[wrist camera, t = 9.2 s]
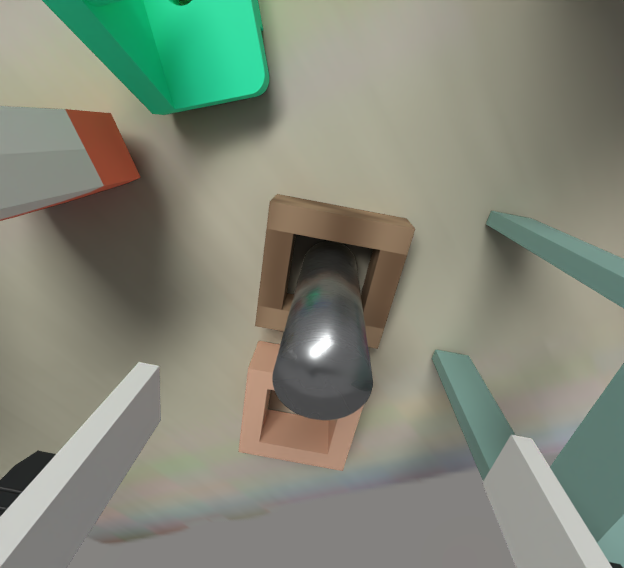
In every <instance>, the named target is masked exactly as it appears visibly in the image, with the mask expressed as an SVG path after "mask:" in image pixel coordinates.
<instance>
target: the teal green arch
mask: <svg viewBox="0 0 624 568" xmlns="http://www.w3.org/2000/svg"><path fill="white" fill-rule="evenodd" d="M486 224H487V225H488V226H490V227H492V228H493V229H495V230H496V231H498V232H500V233H501V234H503V235H505V236H506V237H508V238H510V239H511V240H513V241H514V242H516V243H518V244H519V245H521V246H523V247H524V248H526V249H528V250H529V251H531V252H532V253H534V254H536V255H537V256H539V257H541V258H542V259H544V260H546V261H547V262H549V263H550V264H552V265H554V266H555V267H557V268H559V269H560V270H562V271H563V272H565V273H567V274H568V275H570V276H572V277H573V278H575V279H577V280H578V281H580V282H581V283H583V284H585V285H586V286H588V287H590V288H591V289H593V290H595V291H596V292H598V293H599V294H601V295H603V296H604V297H606V298H608V299H609V300H611V301H612V302H614V303H616V304H617V305H619V306H621V307H622V308H624V259H623V258H620V257H618V256H616V255H614V254H611V253H609V252H607V251H604V250H602V249H600V248H598V247H595V246H593V245H591V244H589V243H586V242H584V241H582V240H579V239H577V238H575V237H573V236H570V235H568V234H566V233H563V232H561V231H559V230H557V229H554V228H552V227H550V226H548V225H545V224H543V223H541V222H538V221H536V220H534V219H532V218H526V217H521V216H516V215H511V214H505V213H500V212H495V211H491V213H490V215H489V218H488V220H487V223H486ZM432 360H433V362H434V365H435V367H436V370H437V372H438V374H439V377H440V379H441V381H442V384H443V386H444V389H445V391H446V393H447V396H448V398H449V401H450V403H451V405H452V408H453V410H454V413H455V415H456V417H457V420H458V422H459V425H460V427H461V429H462V432H463V434H464V436H465V439H466V441H467V444H468V446H469V448H470V451H471V453H472V456H473V458H474V460H475V463H476V465H477V468H478V470H479V472H480V475H481V477H482V479H483V481H484V479H485V478H486V476H487V474H488V473H489V471H490V469H491V468H492V466H493V464H494V463H495V461H496V459H497V458H498V456H499V454H500V453H501V451H502V449H503V448H504V446H505V444H506V442H507V441H508V439H509V437H510V436H511V435H515V434H514V432H513V430H512V428H511V427H510V425H509V423H508V422H507V420H506V418H505V417H504V415H503V413H502V412H501V410H500V408H499V406H498V405H497V403H496V401H495V400H494V398H493V396H492V395H491V393H490V391H489V389H488V388H487V386H486V384H485V383H484V381H483V379H482V378H481V376H480V374H479V372H478V371H477V369H476V367H475V366H474V364H473V362H472V361H471V359H470V357H469V356H468V355H462V354H457V353H451V352H446V351H441V350H435V352H434V355H433V357H432ZM550 468H551V470H552V472H553V473H554V475H555V476H556V478H557V480H558V481H559V483H560V485H561V486H562V488H563V489H564V491H565V493H566V494H567V496H568V497H569V499H570V501H571V502H572V504H573V505H574V507H575V509H576V510H577V512H578V513H579V515H580V517H581V518H582V520H583V521H584V523H585V525H586V526H587V528H588V529H589V531H590V533H591V534H592V536H593V537H594V539H595V541H596V542H597V544H598V545H599V547H600V549H601V550H602V552H603V553H604V555H605V557H606V558H607V560H608V562H612V563H617V564H620V565H621V566H622V567H623V568H624V363H623V365H622V366H621V368H620V369H619V370H618V372H617V373H616V375H615V376H614V377H613V379H612V380H611V382H610V383H609V384H608V386H607V387H606V389H605V390H604V392H603V393H602V394H601V396H600V397H599V399H598V400H597V401H596V403H595V404H594V406H593V407H592V408H591V410H590V411H589V413H588V414H587V415H586V417H585V418H584V420H583V421H582V423H581V424H580V425H579V427H578V428H577V430H576V431H575V432H574V434H573V435H572V437H571V438H570V439H569V441H568V442H567V444H566V445H565V447H564V448H563V449H562V451H561V452H560V454H559V455H558V456H557V458H556V459H555V461H554V462H553V464H552V465H551V466H550Z"/></svg>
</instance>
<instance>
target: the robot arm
mask: <svg viewBox="0 0 624 568" xmlns="http://www.w3.org/2000/svg"><path fill="white" fill-rule="evenodd" d="M160 421H161V411H160V373H159V366H157V365H152V364H147V363H141V362H138V364H137V365H136V366H135V367H134V368H133V369H132V370H131V371H130V372H129V374H128V375H127V376H126V377H125V378H124V379H123V380H122V381H121V383H120V384H119V385H118V386H117V387H116V388H115V389H114V390H113V391H112V393H111V394H110V395H109V396H108V397H107V398H106V399H105V400H104V402H103V403H102V404H101V405H100V406H99V407H98V408H97V409H96V410H95V412H94V413H93V414H92V415H91V416H90V417H89V418H88V419H87V420H86V422H85V423H84V424H83V425H82V426H81V427H80V428H79V429H78V431H77V432H76V433H75V434H74V435H73V436H72V437H71V438H70V439H69V441H68V442H67V443H66V444H65V445H64V446H63V447H62V448H61V450H60V451H59V452H58V453H57V454H52V453H47V452H42V451H37V452H35V453H34V454H32V455H30V456H29V457H27V458H26V459H24V460H23V461H21V462H20V463H18V464H17V465H15V466H14V467H13V468H12V469H11V470H10V471H9V472H8V473H7V474H6V475H5V476H4V477H3V478H2V479H1V480H0V568H67V567H68V565H69V564H70V562H71V560H72V559H73V557H74V555H75V554H76V552H77V551H78V549H79V548H80V546H81V545H82V543H83V542H84V540H85V538H86V537H87V535H88V534H89V532H90V531H91V529H92V527H93V526H94V524H95V523H96V521H97V520H98V518H99V516H100V515H101V513H102V512H103V510H104V509H105V507H106V505H107V504H108V502H109V501H110V499H111V498H112V496H113V494H114V493H115V491H116V490H117V488H118V487H119V485H120V483H121V482H122V480H123V479H124V477H125V476H126V474H127V472H128V471H129V469H130V468H131V466H132V465H133V463H134V461H135V460H136V458H137V457H138V455H139V454H140V452H141V450H142V449H143V447H144V446H145V444H146V443H147V441H148V439H149V438H150V436H151V435H152V433H153V432H154V430H155V428H156V427H157V425H158V424H159V422H160ZM483 486H484V489H485V491H486V494H487V496H488V498H489V501H490V503H491V506H492V508H493V511H494V513H495V516H496V518H497V521H498V524H499V526H500V528H501V531H502V534H503V536H504V539H505V541H506V544H507V546H508V548H509V551H510V553H511V556H512V558H513V561H514V563H515V566H516V568H623V567H622V566H621V565H620V564H617V563H612V562H608V560H607V558H606V557H605V555H604V553H603V552H602V550H601V549H600V547H599V545H598V544H597V542H596V541H595V539H594V537H593V536H592V534H591V533H590V531H589V529H588V528H587V526H586V525H585V523H584V521H583V520H582V518H581V517H580V515H579V513H578V512H577V510H576V509H575V507H574V505H573V504H572V502H571V501H570V499H569V497H568V496H567V494H566V493H565V491H564V489H563V488H562V486H561V485H560V483H559V481H558V480H557V478H556V476H555V475H554V473H553V472H552V470H551V468H550V467H549V465H548V464H547V462H546V460H545V459H544V457H543V456H542V454H541V452H540V451H539V449H538V448H537V446H536V444H535V443H534V441H533V440H532V439H531V438H526V437H521V436H516V435H511V436H510V437H509V439H508V441H507V442H506V444H505V446H504V448H503V449H502V451H501V453H500V454H499V456H498V458H497V459H496V461H495V463H494V464H493V466H492V468H491V469H490V471H489V473H488V474H487V476H486V478H485V479H484V481H483Z"/></svg>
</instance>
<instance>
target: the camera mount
mask: <svg viewBox="0 0 624 568" xmlns="http://www.w3.org/2000/svg"><path fill="white" fill-rule="evenodd" d="M42 1H43V2H44V3H45V4H46V5H47V6H48V7H49V8H50V9H51V10H52V11H53V12H54V13H55V14H56V15H57V16H58V17H59V18H60V19H61V20H62V21H63V22H64V23H65V24H66V25H67V26H68V27H69V29H70V30H71V31H72V32H73V33H74V34H75V35H76V36H77V37H78V38H79V39H80V40H81V41H82V42H83V43H84V44H85V45H86V46H87V47H88V48H89V49H90V50H91V51H92V52H93V53H94V54H95V55H96V56H97V57H98V58H99V59H100V60H101V61H102V62H103V63H104V64H105V65H106V66H107V68H108V69H109V70H110V71H111V72H112V73H113V74H114V75H115V76H116V77H117V78H118V79H119V80H120V81H121V82H122V83H123V84H124V85H125V86H126V87H127V88H128V89H129V90H130V91H131V92H132V93H133V94H134V95H135V96H136V97H137V98H138V99H139V100H140V101H141V102H142V103H143V104H144V105H145V106H146V108H147V109H148V110H149V111H150V112H151V113H152V114H160V115H166V114H171V113H176V112H181V111H186V110H191V109H197V108H202V107H207V106H212V105H217V104H222V103H227V102H232V101H237V100H242V99H247V98H252V97H257V96H260V95H262V94H263V93H264V92H265V91H266V89H267V87H268V85H269V71H268V66H267V60H266V55H265V49H264V44H263V39H262V33H261V31H263V26H262V20H261V15H260V9H259V4H258V0H192V1H191V2H190V3H189V4H187V5H183V6H180V3H179V0H42Z"/></svg>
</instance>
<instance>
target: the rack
mask: <svg viewBox="0 0 624 568" xmlns="http://www.w3.org/2000/svg"><path fill="white" fill-rule="evenodd" d="M279 348H280V345H279V344H274V343H269V342H263V341H258V344H257V347H256V349H255V352H254V354H253V357H252V360H251V362H250V365H249V368H248V374H247V383H246V392H245V400H244V409H243V418H242V426H241V435H240V444H239V452H242V453H248V454H253V455H259V456H264V457H270V458H275V459H280V460H286V461H291V462H297V463H302V464H308V465H313V466H319V467H324V468H330V469H335V470H340V471H343V469H344V465H345V462H346V459H347V456H348V453H349V450H350V447H351V443H352V440H353V437H354V434H355V431H356V428H357V425H358V421H359V418H360V415H361V412H362V409H363V406H364V405H363V406H362V407H361V408H360V409H359V410H357V411H356V412H354V413H352V414H350V415H348V416H346V417H343V418H339V419H334V420H316V419H310V418H307V417H304V416H301V415H296V414H291V413H285V412H280V411H275V410H269V409H268V404H269V398H270V391H271V390H274V387H273V381H272V376H273V370H274V366H275V363H276V359H277V355H278V352H279Z"/></svg>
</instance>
